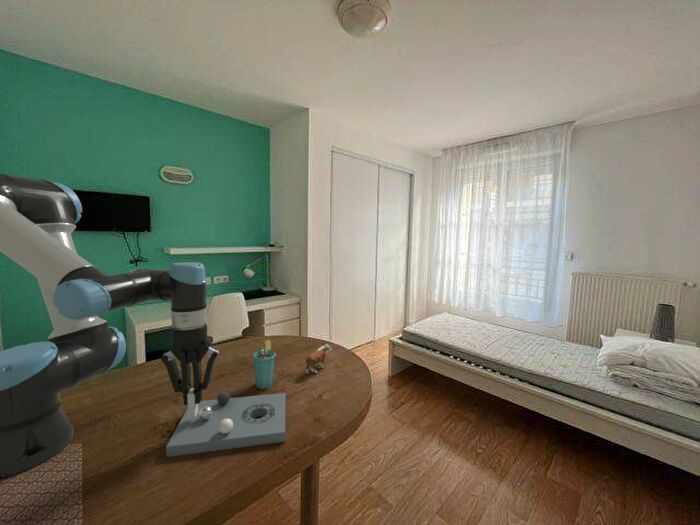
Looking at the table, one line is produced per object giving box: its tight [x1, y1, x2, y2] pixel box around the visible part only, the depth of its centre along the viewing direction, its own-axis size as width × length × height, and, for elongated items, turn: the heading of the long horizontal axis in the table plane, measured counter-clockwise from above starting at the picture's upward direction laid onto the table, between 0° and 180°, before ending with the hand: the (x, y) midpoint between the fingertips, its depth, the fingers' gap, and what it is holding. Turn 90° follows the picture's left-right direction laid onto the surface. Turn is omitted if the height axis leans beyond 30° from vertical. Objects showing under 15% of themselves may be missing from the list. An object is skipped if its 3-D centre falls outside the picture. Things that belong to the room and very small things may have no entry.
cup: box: [251, 339, 277, 390], centre depth 91 cm, size 14×8×15 cm, turn 11°
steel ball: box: [199, 406, 213, 420], centre depth 71 cm, size 3×3×3 cm
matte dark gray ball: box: [216, 391, 231, 405], centre depth 78 cm, size 3×3×3 cm
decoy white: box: [219, 418, 233, 434], centre depth 67 cm, size 3×3×3 cm
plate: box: [165, 392, 286, 458], centre depth 73 cm, size 26×17×2 cm, turn 103°
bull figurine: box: [305, 343, 333, 375], centre depth 105 cm, size 4×13×8 cm, turn 148°
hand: (193, 415), depth 71 cm, fingers closed
